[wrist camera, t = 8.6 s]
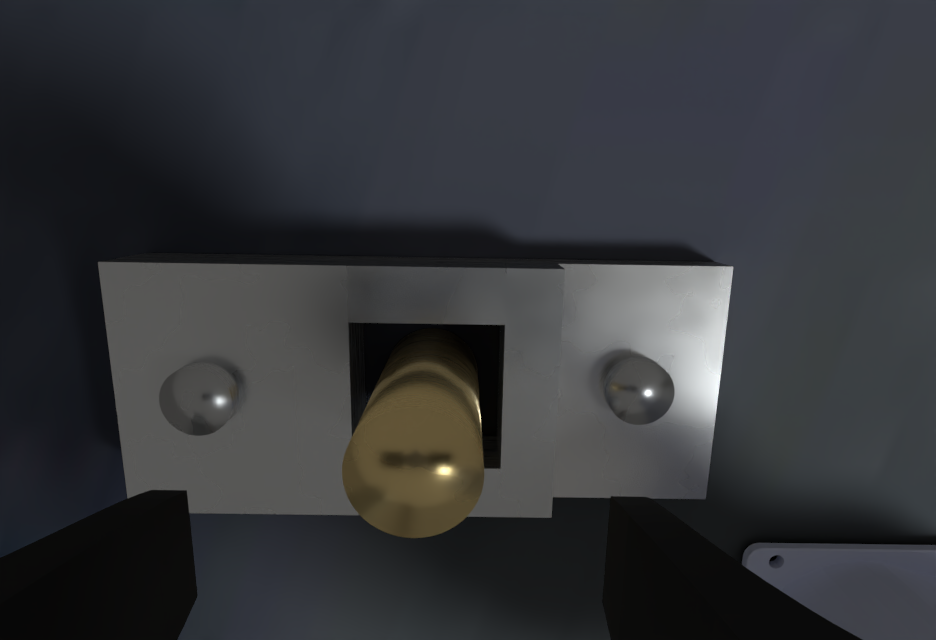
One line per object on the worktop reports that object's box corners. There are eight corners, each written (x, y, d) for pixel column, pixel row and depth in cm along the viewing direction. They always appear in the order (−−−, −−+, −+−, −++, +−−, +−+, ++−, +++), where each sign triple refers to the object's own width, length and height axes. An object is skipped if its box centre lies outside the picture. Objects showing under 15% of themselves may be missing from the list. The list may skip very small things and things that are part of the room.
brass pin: (478, 328, 18) (486, 408, 12) (476, 415, 19) (482, 539, 12) (386, 327, 18) (339, 406, 12) (387, 414, 19) (344, 537, 12)
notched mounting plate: (716, 261, 18) (764, 275, 15) (691, 480, 20) (730, 531, 17) (145, 252, 18) (83, 264, 15) (169, 473, 20) (117, 523, 17)
